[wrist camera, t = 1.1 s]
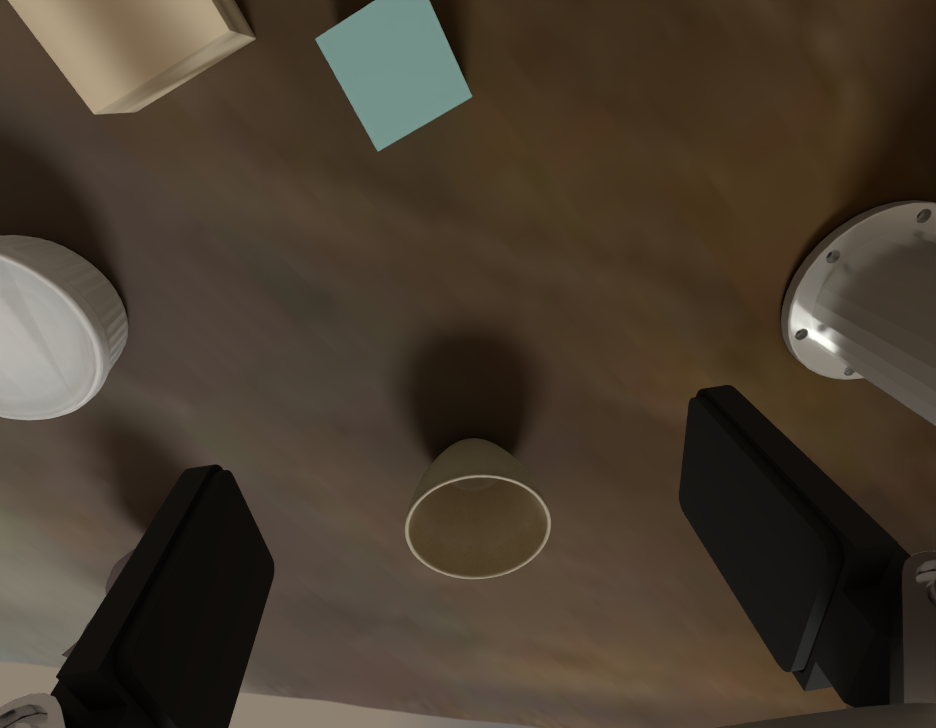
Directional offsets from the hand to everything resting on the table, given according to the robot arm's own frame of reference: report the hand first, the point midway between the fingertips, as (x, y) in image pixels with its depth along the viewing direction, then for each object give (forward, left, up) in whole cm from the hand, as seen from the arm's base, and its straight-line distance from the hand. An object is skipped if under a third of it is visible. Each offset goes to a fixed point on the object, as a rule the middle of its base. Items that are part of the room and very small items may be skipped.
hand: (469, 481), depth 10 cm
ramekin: (+26, -7, -24) cm, 36 cm away
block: (-1, -8, -24) cm, 25 cm away
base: (+8, -17, -24) cm, 31 cm away
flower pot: (+8, +18, -24) cm, 31 cm away
